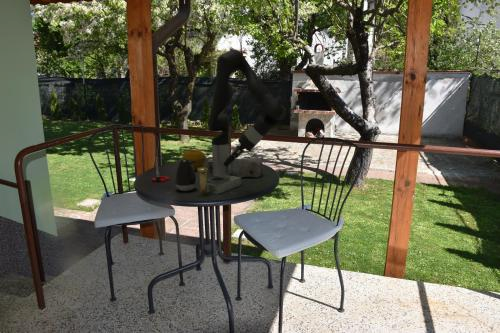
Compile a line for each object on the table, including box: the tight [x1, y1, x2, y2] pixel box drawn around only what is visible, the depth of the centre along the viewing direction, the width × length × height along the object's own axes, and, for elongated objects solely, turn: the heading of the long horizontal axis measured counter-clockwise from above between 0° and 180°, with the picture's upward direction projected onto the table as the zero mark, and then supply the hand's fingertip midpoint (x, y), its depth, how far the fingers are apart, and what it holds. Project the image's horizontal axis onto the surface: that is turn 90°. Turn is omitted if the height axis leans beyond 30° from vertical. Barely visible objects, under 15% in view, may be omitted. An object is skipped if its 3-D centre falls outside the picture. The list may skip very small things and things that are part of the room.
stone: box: [237, 156, 264, 178], centre depth 220 cm, size 13×12×10 cm
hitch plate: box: [197, 174, 242, 195], centre depth 200 cm, size 18×12×5 cm, turn 144°
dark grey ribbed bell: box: [174, 158, 197, 192], centre depth 196 cm, size 10×10×15 cm
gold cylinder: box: [196, 166, 209, 196], centre depth 189 cm, size 5×5×12 cm
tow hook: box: [151, 156, 170, 183], centre depth 216 cm, size 8×13×9 cm
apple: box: [182, 149, 207, 172], centre depth 237 cm, size 13×13×11 cm
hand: (226, 163), depth 186 cm, fingers open, 8 cm apart
